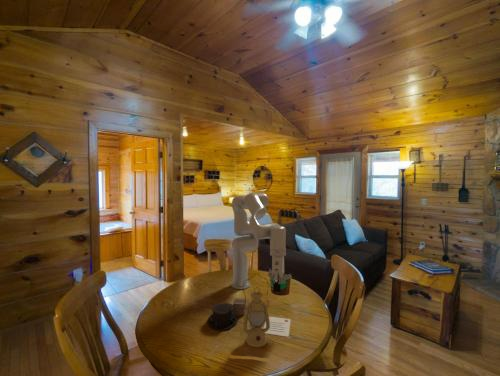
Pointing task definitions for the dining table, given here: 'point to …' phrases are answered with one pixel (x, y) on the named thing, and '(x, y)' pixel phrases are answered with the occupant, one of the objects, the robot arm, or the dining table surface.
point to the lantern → (256, 320)
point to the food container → (281, 284)
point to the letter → (278, 326)
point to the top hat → (222, 317)
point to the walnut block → (239, 306)
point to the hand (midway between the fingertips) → (277, 288)
